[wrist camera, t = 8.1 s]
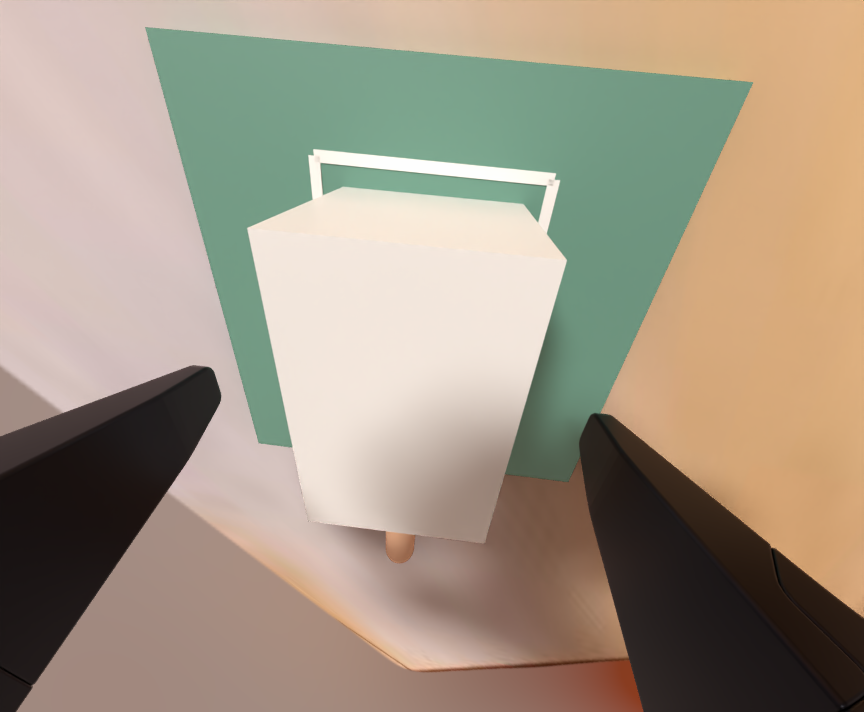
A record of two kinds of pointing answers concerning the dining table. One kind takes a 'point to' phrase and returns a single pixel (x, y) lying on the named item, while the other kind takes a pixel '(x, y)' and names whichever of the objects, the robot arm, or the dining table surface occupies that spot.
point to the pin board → (451, 184)
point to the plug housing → (405, 353)
